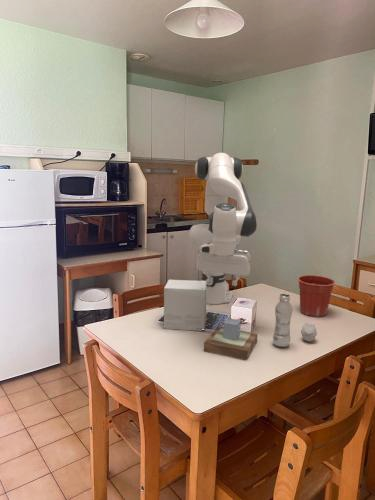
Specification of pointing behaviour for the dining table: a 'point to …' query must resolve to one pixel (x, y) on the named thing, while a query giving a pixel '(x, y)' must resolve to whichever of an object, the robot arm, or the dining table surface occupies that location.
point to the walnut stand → (231, 344)
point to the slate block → (231, 329)
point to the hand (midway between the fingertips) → (222, 283)
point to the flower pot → (315, 294)
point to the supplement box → (185, 305)
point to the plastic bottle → (282, 321)
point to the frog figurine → (308, 332)
